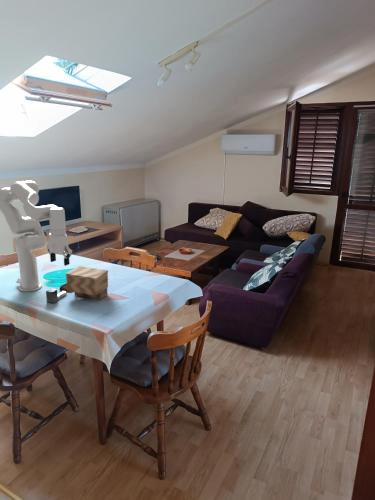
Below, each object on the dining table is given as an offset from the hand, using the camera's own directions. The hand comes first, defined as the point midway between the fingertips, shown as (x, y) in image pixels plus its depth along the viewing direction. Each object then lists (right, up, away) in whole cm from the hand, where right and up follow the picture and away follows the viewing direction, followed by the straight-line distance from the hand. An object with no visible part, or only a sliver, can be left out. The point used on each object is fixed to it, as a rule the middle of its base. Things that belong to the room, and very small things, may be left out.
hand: (60, 263), depth 190 cm
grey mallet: (-5, -20, +10) cm, 23 cm away
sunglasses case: (-1, -16, +27) cm, 31 cm away
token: (+7, -20, +11) cm, 24 cm away
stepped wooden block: (+11, -19, +13) cm, 26 cm away
